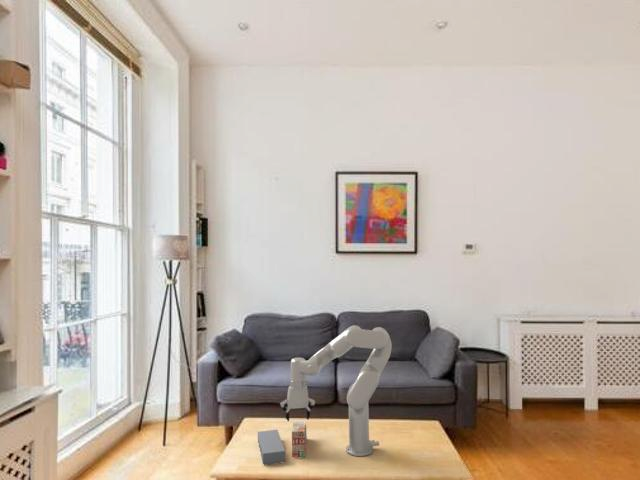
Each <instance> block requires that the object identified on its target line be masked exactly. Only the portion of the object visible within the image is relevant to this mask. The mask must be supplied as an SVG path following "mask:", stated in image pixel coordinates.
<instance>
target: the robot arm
mask: <svg viewBox="0 0 640 480" xmlns="http://www.w3.org/2000/svg"><path fill="white" fill-rule="evenodd" d="M354 347H356V348H364V349H371V350H372V351H371V353H370V354H369V357H368V358H367V359H366V361H365V363H364V364H363V366H362V367H361V369H360V370H359V373H358V376H357V378H356V379H355V382H354V383H352V384H351V385H350V386H349V388H348V390H347V394H346V403H347V405H348V438H349V439H348V440H349V444H348V445H346V453H347V454H349V455H352V456H355V457H365V456H366V457H367V456H369V455H371V454H372V453H373V451H374V449H373V447H374V446H375V447H376V446H377V447H378V446H380V442H379V441H377V440H376V441H375V439H371V440H370V425H369V423H370V420H369V418H370V417H369V416H370V413H369V412H370V411H369V401H370V400H371V398H372V396H373V395H374V393H375V391H376V389H377V387H378V386H379V382H380V376H381V374H382V372H383V370H384V369H385V367H386V365H387V362H388V361H389V359H390V357H391V354H392V353H391V352H392V348H393V346H392V339H391V336H390V335H389V333H388V331H387V330H386V329H385V328H383V327H381V326H379V327H374V328H373V329H372V330H371V329H365V328H364V329H362V328H361V327H360V326H359V325H355V324H353V325H351V326H349V327H348V328H346V329H345V330H343V331H342V332H341V333H340V334H339V335H337V336H336V337H335V338H333V339H332V340H331V341H329V342H328V343H327V344H326V345H325V346H323V348H321V349H320V350H318V351H317V352H316V353H315V354H313V355H312V356H311V357H310V358H309V359H308V360H306V358H303V357H294V358H291V360H290V373H289V374H290V378H289V379H290V384H289V386H288V388H287V396H286V397H287V398H285V399H284V400H283V401H281V402H280V403H279V405H280V407H281V408H282V411H284V412H285V420H287V422H289V421H290V411H291V410H293V409H305V418H306V420H309V419H310V416H311V411H312V409H313V407H314V406H315V404H316V401H315V400H314V399H312V398H310V397H309V391H308V386H307V384H308V385H309V382H310V381H309V380H306V378H307V377H306V376H310V377H314V376H317V375H318V374H319V373H320V371H321V369H323V368H324V367H325V366H327V364H329V363H330V362H332V361H333V360H334V359H337V358H341V357H342V356H343V355H344V354H346V353H347V352H349V350H351V349H352V348H354ZM309 402H310V405H309ZM285 405H286V406H285Z"/></svg>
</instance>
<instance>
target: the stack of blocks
mask: <svg viewBox="0 0 640 480" xmlns="http://www.w3.org/2000/svg"><path fill="white" fill-rule="evenodd" d="M307 439H308V437H307V421H306V420H294V421H293V422H292V429H291V457H303V458H306V454H307V442H306V441H307Z"/></svg>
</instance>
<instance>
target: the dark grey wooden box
mask: <svg viewBox="0 0 640 480" xmlns="http://www.w3.org/2000/svg"><path fill="white" fill-rule="evenodd" d="M258 443H259V445H258V449H259V448H260V449H259V453H260V452H261V454H260V456H261V457H262V458H261V457H260V458H261V462H262V465H263V464H264V465H263V466H266V465H265V464H268V465H274V464H275V463H276V464H282V463H281V462H284V463H286V450H285V446H284V444H283V442H282V439H281V436H280V432H279V431H278V429H270V430H269V429H268V430H261V431H257V444H258Z"/></svg>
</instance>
